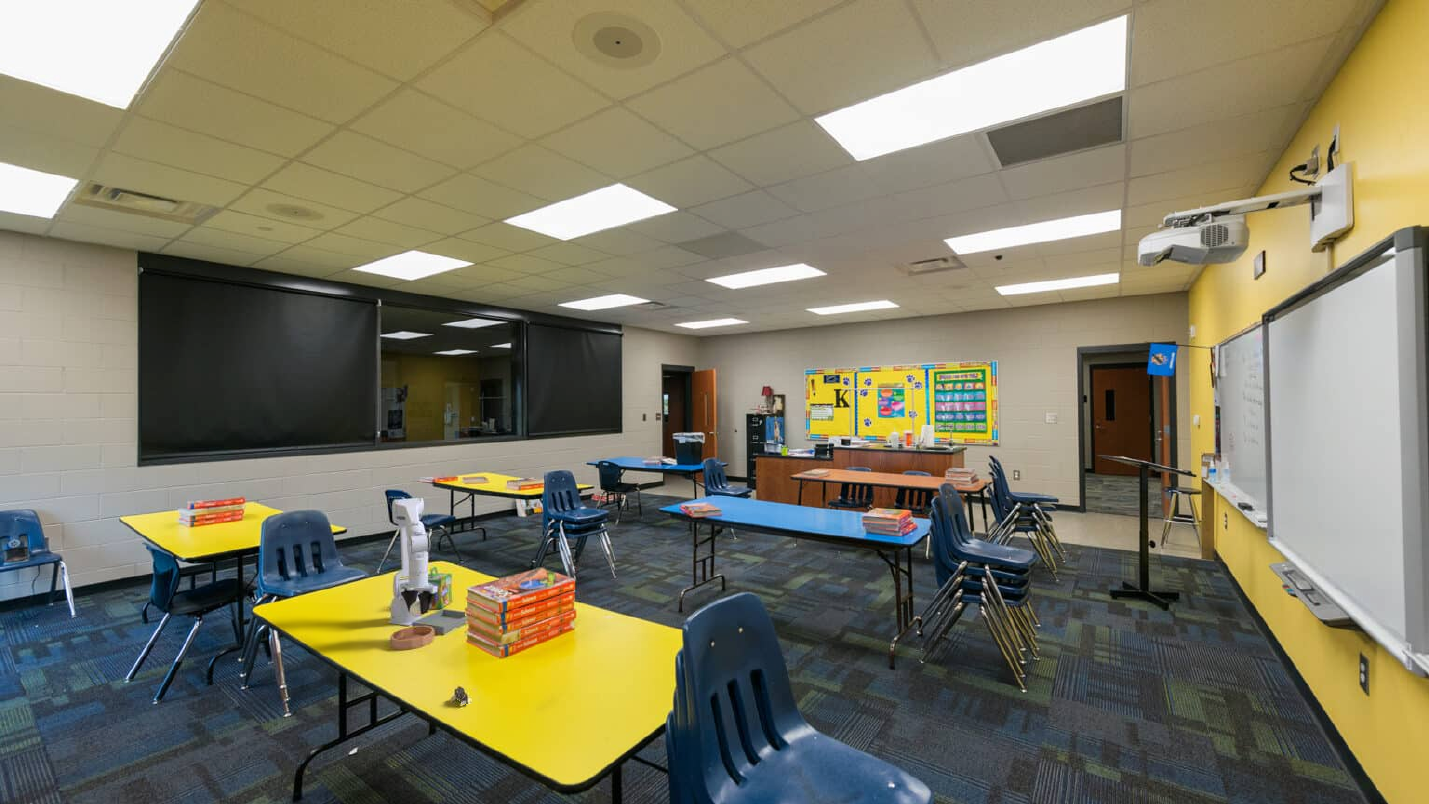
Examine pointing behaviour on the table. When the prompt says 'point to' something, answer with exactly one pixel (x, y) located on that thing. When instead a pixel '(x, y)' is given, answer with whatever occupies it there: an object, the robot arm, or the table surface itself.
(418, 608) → the ball
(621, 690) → the table surface
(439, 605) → the chalk box
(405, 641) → the bowl
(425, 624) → the tray
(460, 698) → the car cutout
